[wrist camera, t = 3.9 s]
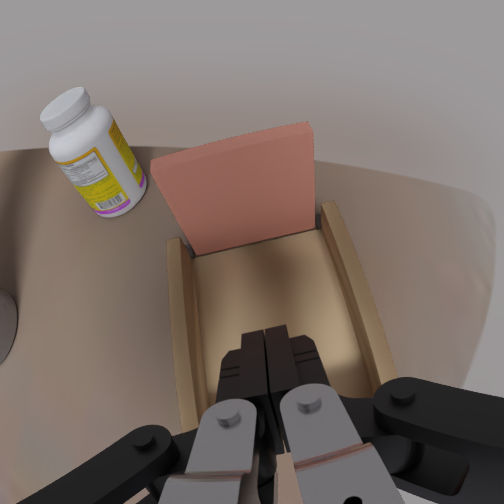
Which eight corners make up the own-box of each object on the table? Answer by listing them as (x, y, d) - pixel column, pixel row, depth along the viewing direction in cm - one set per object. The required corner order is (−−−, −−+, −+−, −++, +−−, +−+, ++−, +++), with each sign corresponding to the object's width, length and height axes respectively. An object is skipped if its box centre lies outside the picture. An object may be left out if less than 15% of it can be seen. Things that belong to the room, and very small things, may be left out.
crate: (208, 448, 19) (185, 451, 15) (186, 261, 27) (166, 230, 23) (386, 410, 18) (405, 404, 14) (328, 228, 26) (330, 191, 22)
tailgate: (197, 255, 24) (150, 171, 17) (195, 240, 25) (151, 155, 17) (314, 228, 24) (313, 131, 16) (309, 213, 25) (305, 117, 17)
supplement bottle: (123, 167, 35) (73, 79, 24) (160, 181, 32) (109, 78, 21) (85, 209, 32) (21, 124, 22) (118, 229, 30) (47, 132, 19)
